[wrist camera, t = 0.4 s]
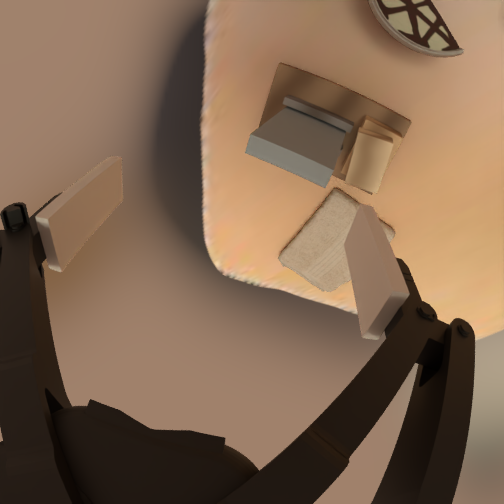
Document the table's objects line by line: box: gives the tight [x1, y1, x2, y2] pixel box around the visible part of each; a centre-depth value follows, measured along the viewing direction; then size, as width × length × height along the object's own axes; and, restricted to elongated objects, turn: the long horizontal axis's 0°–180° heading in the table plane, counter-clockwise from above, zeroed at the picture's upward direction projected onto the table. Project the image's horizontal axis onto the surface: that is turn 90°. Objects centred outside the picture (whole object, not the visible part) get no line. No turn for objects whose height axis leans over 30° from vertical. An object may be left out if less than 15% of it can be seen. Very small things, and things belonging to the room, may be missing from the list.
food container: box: [368, 0, 464, 57], centre depth 20 cm, size 12×6×10 cm, turn 39°
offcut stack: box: [341, 115, 403, 194], centre depth 33 cm, size 5×8×5 cm
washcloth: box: [278, 188, 395, 292], centre depth 47 cm, size 12×18×3 cm, turn 154°
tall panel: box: [245, 106, 346, 188], centre depth 31 cm, size 8×2×14 cm, turn 75°
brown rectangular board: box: [259, 63, 411, 195], centre depth 35 cm, size 18×12×3 cm, turn 75°
